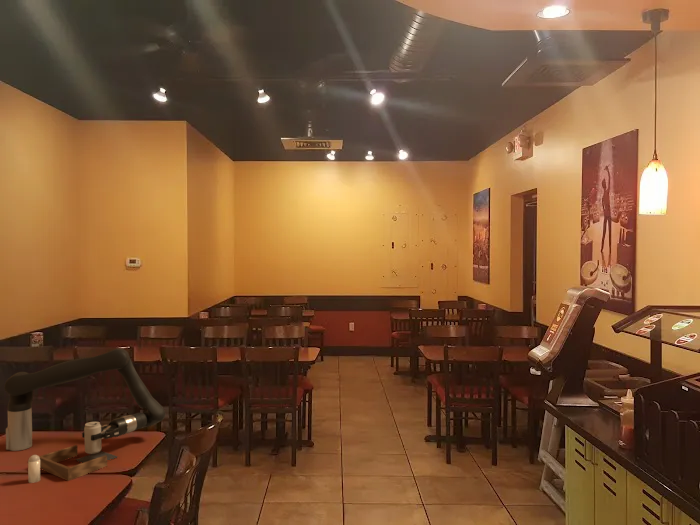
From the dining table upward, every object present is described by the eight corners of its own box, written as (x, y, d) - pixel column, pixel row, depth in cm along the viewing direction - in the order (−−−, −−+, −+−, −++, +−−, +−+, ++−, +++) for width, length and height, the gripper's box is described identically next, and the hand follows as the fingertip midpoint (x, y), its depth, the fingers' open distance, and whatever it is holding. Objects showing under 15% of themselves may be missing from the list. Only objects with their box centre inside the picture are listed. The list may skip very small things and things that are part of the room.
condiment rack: (75, 455, 238) (75, 445, 238) (107, 466, 225) (106, 455, 225) (37, 467, 224) (37, 456, 224) (68, 480, 212) (68, 469, 212)
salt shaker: (26, 483, 210) (26, 457, 209) (31, 478, 214) (30, 453, 213) (37, 482, 210) (37, 456, 210) (42, 478, 214) (41, 452, 214)
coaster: (101, 451, 242) (101, 450, 242) (118, 457, 235) (118, 456, 235) (75, 460, 232) (75, 459, 232) (91, 466, 225) (91, 465, 225)
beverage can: (95, 455, 228) (94, 426, 228) (81, 454, 229) (80, 425, 229) (104, 449, 235) (104, 421, 234) (91, 448, 236) (90, 420, 235)
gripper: (113, 414, 248) (76, 424, 234) (133, 419, 240) (96, 431, 226) (113, 430, 248) (77, 442, 234) (133, 437, 240) (97, 449, 226)
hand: (87, 436), depth 230 cm, fingers closed on beverage can, 5 cm apart
